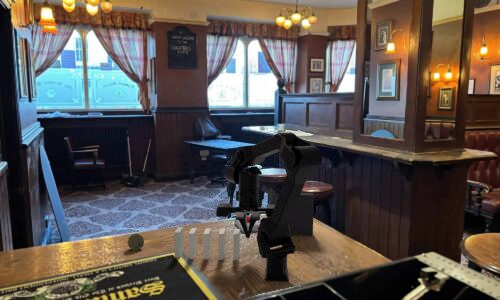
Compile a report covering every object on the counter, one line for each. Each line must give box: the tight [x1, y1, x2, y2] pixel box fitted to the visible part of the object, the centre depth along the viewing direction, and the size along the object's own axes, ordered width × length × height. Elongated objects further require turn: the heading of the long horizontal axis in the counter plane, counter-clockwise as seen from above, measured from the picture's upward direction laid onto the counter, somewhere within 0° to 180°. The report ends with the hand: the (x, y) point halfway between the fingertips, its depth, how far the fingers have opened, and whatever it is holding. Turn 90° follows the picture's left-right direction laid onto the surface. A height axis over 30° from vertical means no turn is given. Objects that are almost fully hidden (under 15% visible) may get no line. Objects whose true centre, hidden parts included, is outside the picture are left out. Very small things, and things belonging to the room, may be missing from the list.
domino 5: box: [232, 228, 241, 261], centre depth 116 cm, size 5×2×8 cm, turn 177°
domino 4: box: [217, 228, 227, 261], centre depth 117 cm, size 5×2×8 cm, turn 177°
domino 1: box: [173, 226, 185, 258], centre depth 118 cm, size 5×2×8 cm, turn 177°
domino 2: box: [188, 227, 198, 260], centre depth 117 cm, size 5×2×8 cm, turn 177°
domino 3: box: [203, 227, 212, 260], centre depth 117 cm, size 5×2×8 cm, turn 177°
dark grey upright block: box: [288, 192, 315, 237], centre depth 137 cm, size 11×4×15 cm, turn 84°
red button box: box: [233, 215, 261, 233], centre depth 145 cm, size 12×4×10 cm
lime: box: [127, 233, 145, 251], centre depth 122 cm, size 4×5×5 cm
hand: (248, 237), depth 116 cm, fingers closed
